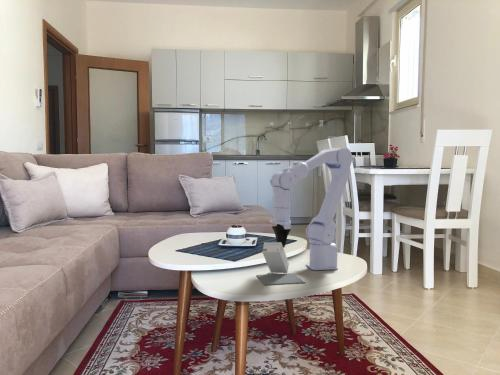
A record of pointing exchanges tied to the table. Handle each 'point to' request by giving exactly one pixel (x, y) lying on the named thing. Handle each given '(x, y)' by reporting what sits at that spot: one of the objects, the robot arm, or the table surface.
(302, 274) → the table surface
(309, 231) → the robot arm
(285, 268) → the skincare box
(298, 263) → the table surface
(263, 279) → the mat
